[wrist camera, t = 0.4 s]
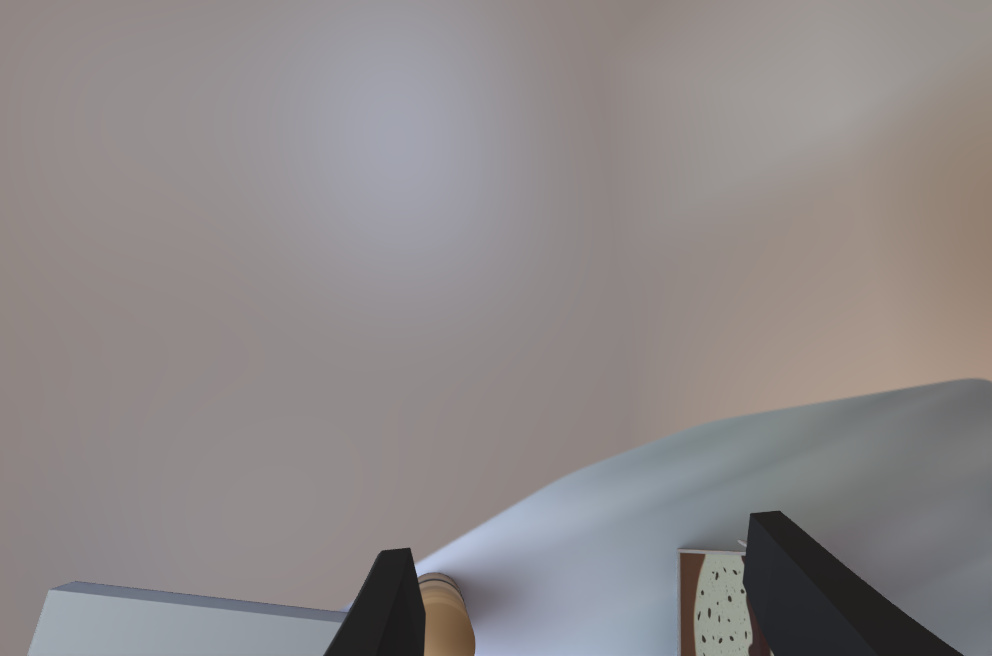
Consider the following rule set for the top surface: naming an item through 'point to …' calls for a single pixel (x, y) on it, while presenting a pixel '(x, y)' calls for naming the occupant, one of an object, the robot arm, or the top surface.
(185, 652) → the board
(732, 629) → the food container
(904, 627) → the robot arm
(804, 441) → the top surface
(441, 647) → the peg
